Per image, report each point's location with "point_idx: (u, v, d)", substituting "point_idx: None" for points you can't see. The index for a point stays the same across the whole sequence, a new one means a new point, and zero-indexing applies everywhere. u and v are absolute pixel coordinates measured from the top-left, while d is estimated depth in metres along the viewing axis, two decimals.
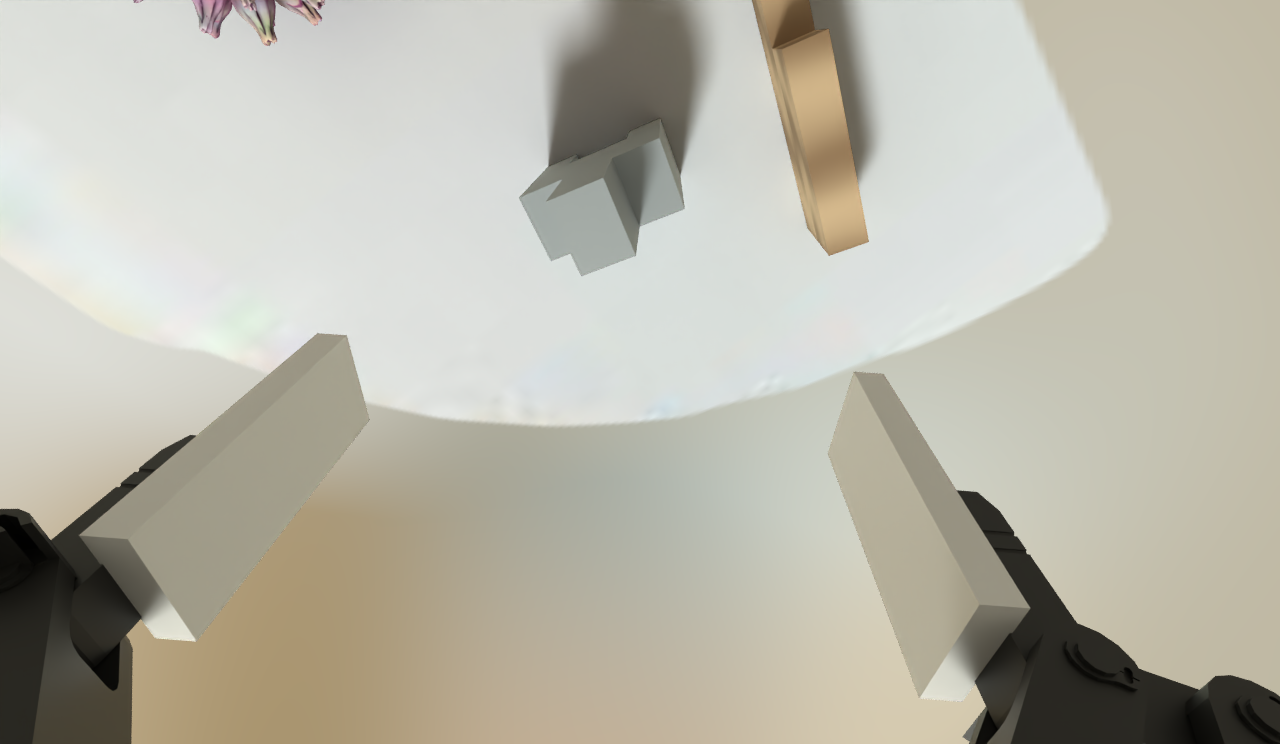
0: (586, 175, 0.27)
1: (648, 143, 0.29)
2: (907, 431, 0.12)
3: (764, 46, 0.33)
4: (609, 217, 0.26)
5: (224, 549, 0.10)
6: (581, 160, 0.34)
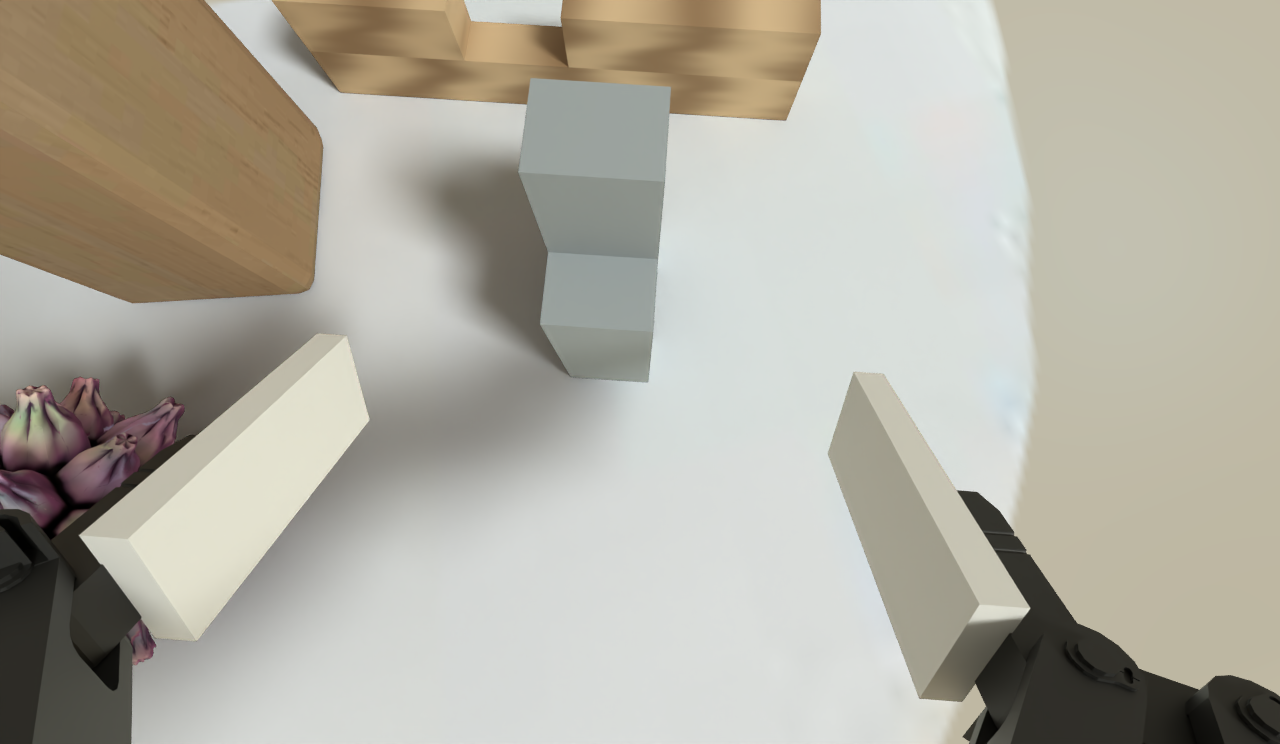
0: None
1: None
2: (907, 431, 0.12)
3: None
4: (591, 95, 0.15)
5: (224, 549, 0.10)
6: None
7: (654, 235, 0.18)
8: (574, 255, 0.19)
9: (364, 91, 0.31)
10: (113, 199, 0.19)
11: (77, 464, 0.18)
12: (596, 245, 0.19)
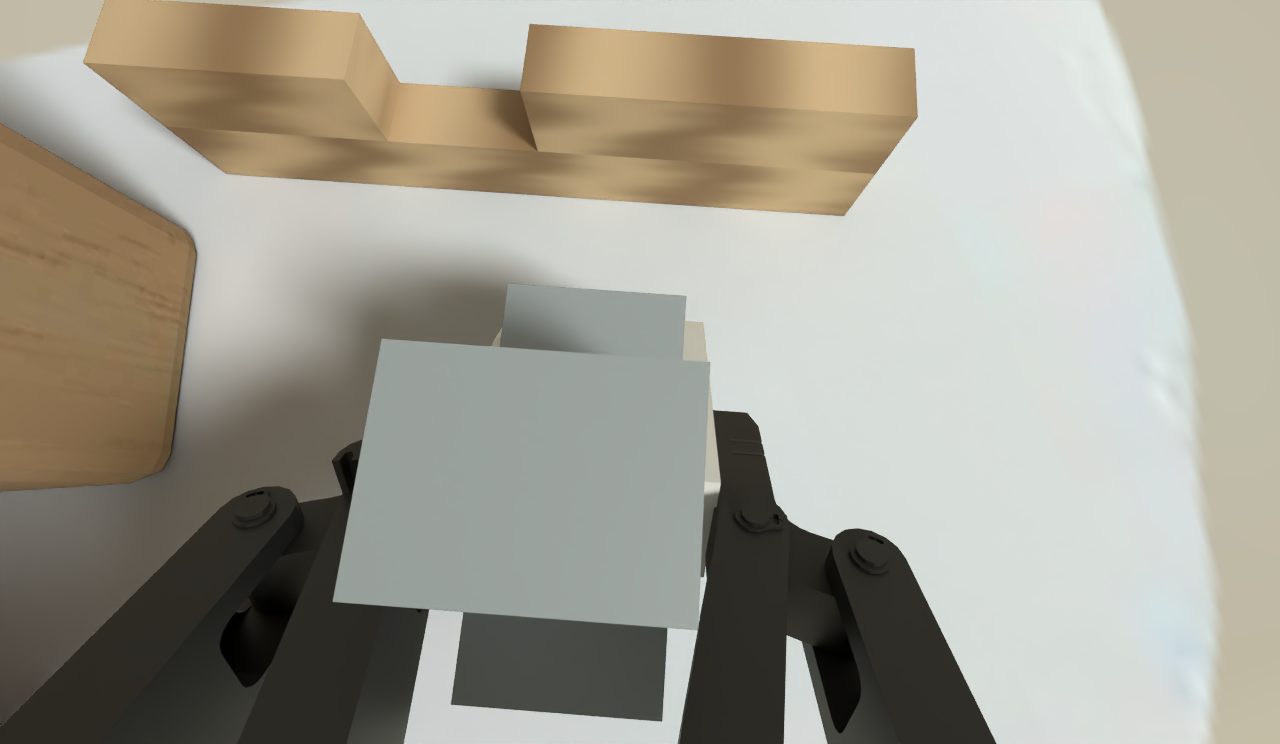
0: None
1: (506, 311, 0.12)
2: None
3: (545, 189, 0.22)
4: (522, 386, 0.06)
5: None
6: None
7: None
8: None
9: (259, 173, 0.22)
10: None
11: None
12: None
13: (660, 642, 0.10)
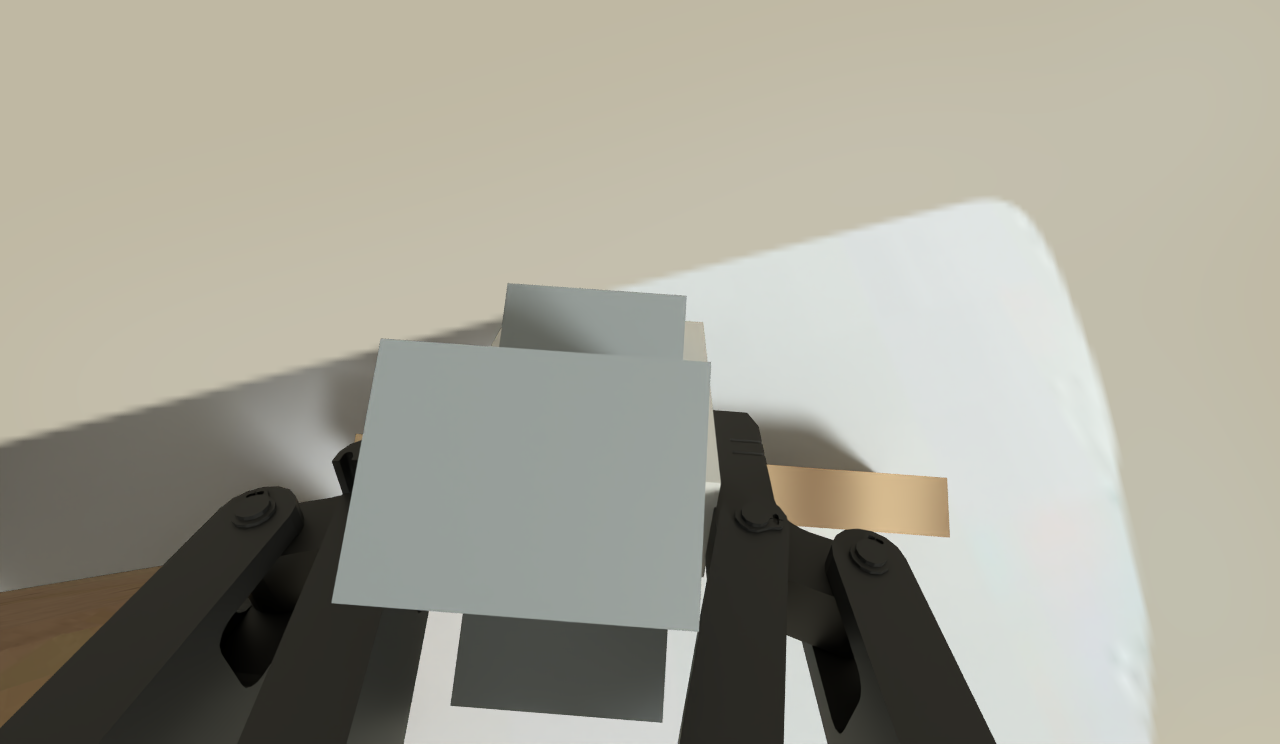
0: None
1: (506, 310, 0.12)
2: None
3: None
4: (522, 385, 0.06)
5: None
6: None
7: None
8: None
9: None
10: None
11: None
12: None
13: (660, 643, 0.10)
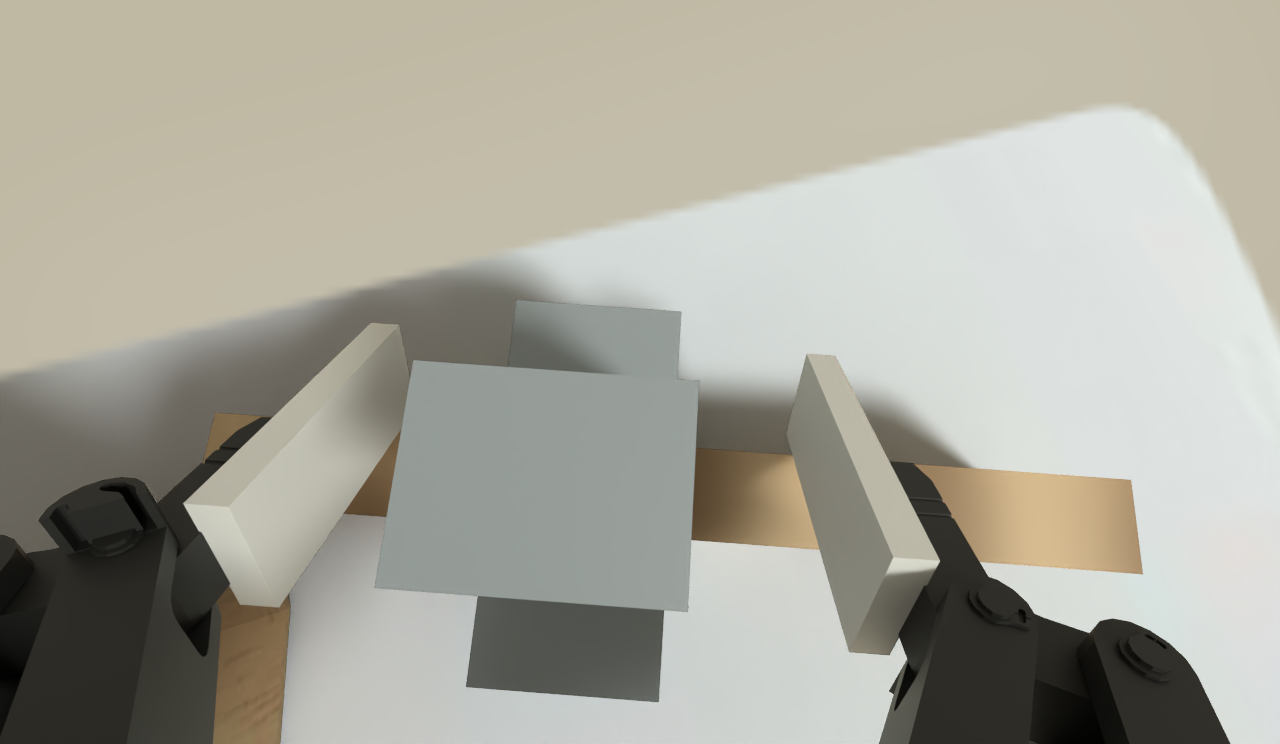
0: None
1: (515, 325, 0.13)
2: (850, 407, 0.12)
3: None
4: (536, 401, 0.07)
5: (301, 522, 0.11)
6: None
7: None
8: None
9: None
10: None
11: None
12: None
13: (657, 630, 0.11)
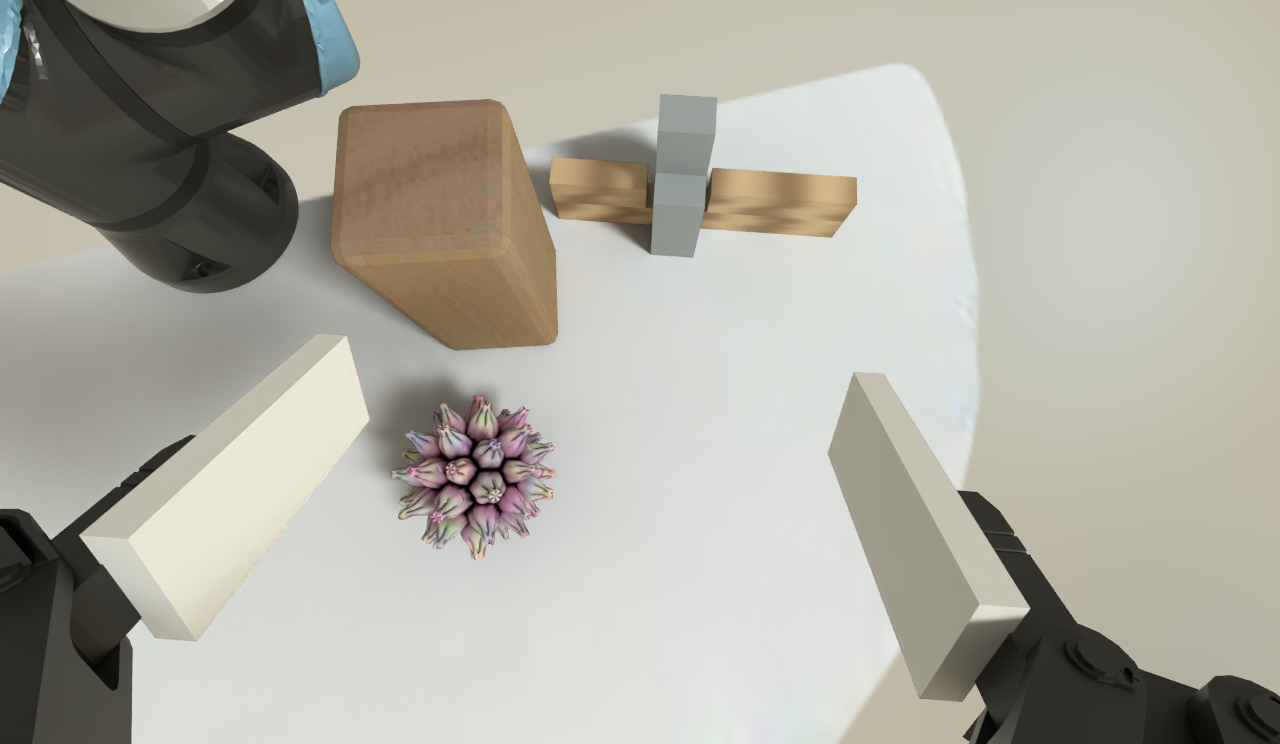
0: None
1: None
2: (907, 431, 0.12)
3: (702, 225, 0.51)
4: (685, 101, 0.38)
5: (224, 549, 0.10)
6: None
7: (707, 161, 0.40)
8: (667, 174, 0.42)
9: (574, 218, 0.51)
10: (520, 311, 0.39)
11: (507, 438, 0.38)
12: (679, 168, 0.41)
13: (703, 192, 0.42)
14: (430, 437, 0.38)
